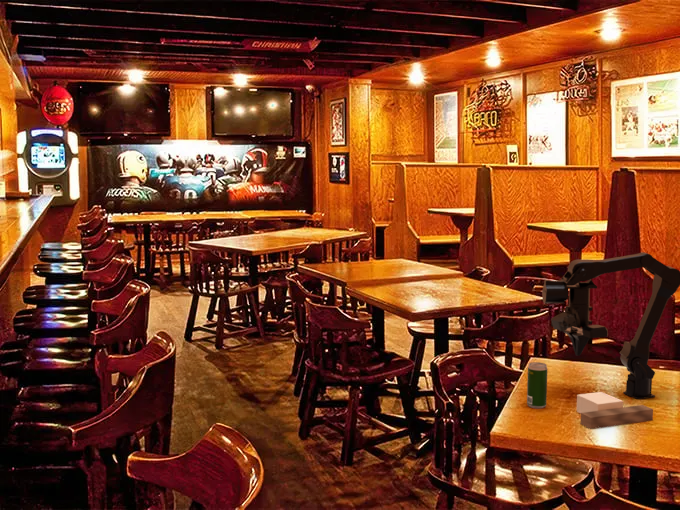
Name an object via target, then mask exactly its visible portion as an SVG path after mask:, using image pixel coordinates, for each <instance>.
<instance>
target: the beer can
mask: <svg viewBox="0 0 680 510" xmlns="http://www.w3.org/2000/svg"><path fill="white" fill-rule="evenodd" d="M526 388H527V389H526V404H527V407H529V408H533V409H538V410H539V409H540V410H541V409H544V408H545V409H546V406H547V395H548V392H547V391H548V365H547V363H544V362H539V361H533V362H529V363H528V366H527V382H526Z"/></svg>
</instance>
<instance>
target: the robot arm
mask: <svg viewBox="0 0 680 510" xmlns="http://www.w3.org/2000/svg"><path fill="white" fill-rule="evenodd" d="M641 268H643V269H644V270H646V271H647V272H648V273H650V274H651V275H653V280H652V292H651V293H652V294H651V296H650V298H649V301H648V303H647V305H646V308H645V311H644V312H643V316H642V318H641V320H640V322H639V325H638V327H637V330H636V331H635V335H634V337H633V338H632V339H631V340H630V341H627V340H625V341H624V342H623V346H622V349H621V350H620V352H619V354H620V357H619V358H620V359H619V360H620V361H621V363H622V365H624V367H626V370H627V371H628V372H629V374H627V379H626V382H625V383H626V387H625V389H626V390H623V392H622V393H623V394H625V395H626V396H629V397H632V398H634V399H636V400H643V399H649V398H650V399H651V398H655V397H656V394H653V393H652V387H653V379H654V377H655V375H656V371H655V370H654V369H653V368H651V367H650V366H649V364H648V362H649V358H650V344H651V341H652V338H653V336H654V334H655V332H656V330H657V327H658V324H659V323H660V320H661V317H662V315H663V313H664V310H665V308H666V306H667V303H668V301H669V299H670V298H672V296H673V295H674V294H675V293H676V292H677V291H678V289H679V287H680V270H679V269H677V268H675V267H672V266H670V265H666V264H664V263H663V262H661V261H659V259H656V258H655V257H653V255H652V254H650V253H647V252H642V251H641V252H638V253H634V254H629V255H624V256H623V255H622V256H617V257H611V258H604V259H574V260H572V261H570V263H569V264H568V267H567V271H566V272H565V274H564V275H562V277H561V279H560V280H552V279H544V283H543V286H542V287H543V288H542V289H541V291H542V292H541V294H542V302H543V304H565V302H567V301H568V305H566V306H565V307H564V311H563V312H561V313H558V314H557V315H555V316H553V317H552V318H550V321H551V323H550V325H551V327H552V328H553V329H554V330H559V332H563V333H564V334H566V335H567V336H568V337H569V339H570V342H571V345H572V347H573V352H574V354H575V356H578V357H579V356H581V355H582V353H583V351H584V350H585V347H586V346H587V344H588V343H589V341H590V339H598V338H605V337H606V338H607V337H608V335H609V333H608V332H609V331H608V328H607V327H606V326H605V325H599V324H593V320H590V312H591V311H593V306H591V305H590V298H591V297H590V295H591V294H590V293H591V292H590V290H591V289H598V286H597V285H596V284H595V283H594V282H593V280H592V279H595V278H598V277H599V276H601V275H605V274H610V273H617V272H622V271H628V270H629V271H630V270H634V269H635V270H636V269H641Z"/></svg>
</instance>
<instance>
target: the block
mask: <svg viewBox="0 0 680 510" xmlns="http://www.w3.org/2000/svg"><path fill="white" fill-rule="evenodd" d="M622 407H624V401H623V400H621V399H619V398H617V397H614V396H612V395H609V394H607V393H605V392H603V391H597V392H589V393H580V394H577V395H576V412H577V413H579V414H581V413H585V412H592V411H600V410H607V409H615V408H622Z"/></svg>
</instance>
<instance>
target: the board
mask: <svg viewBox="0 0 680 510" xmlns="http://www.w3.org/2000/svg"><path fill="white" fill-rule="evenodd" d="M653 418H654V408H652V407H649V406H647V405H644V404H640V405H633V406H632V405H631V406H623V407H622V408H615V409H607V410H600V411H592V412H585V413H580V425H581V424H582V425H581V426H583V425H584V426H583V427H585V426H586V428H587V427H588V428H587V429H589V428H590V429H589V430H592V429H591V428H593V429H599V427H601V428H606V427H607V426H608V427H613V426H614V425H615V426H621V425H628V424H634V423H635V424H636V423H643V422H649V421H653Z"/></svg>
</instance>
